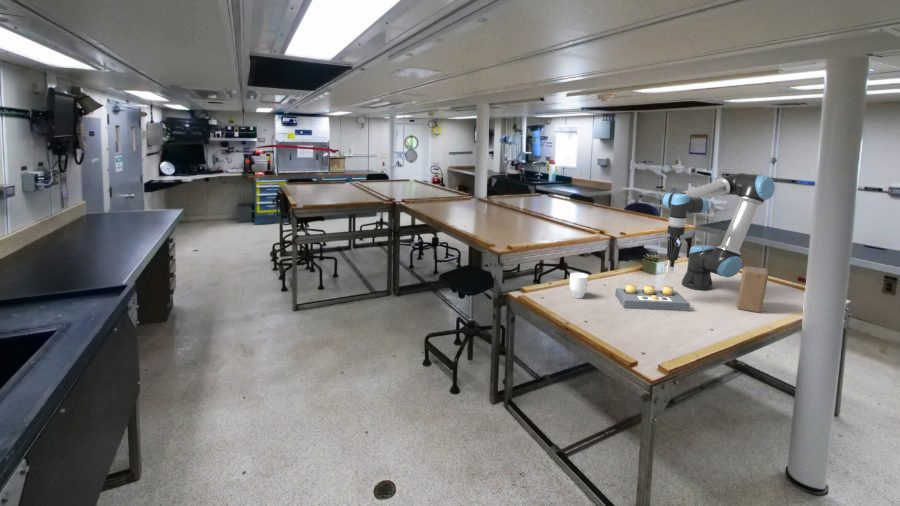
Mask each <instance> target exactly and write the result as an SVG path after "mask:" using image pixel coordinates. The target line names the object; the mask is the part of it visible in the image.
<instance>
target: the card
mask: <svg viewBox="0 0 900 506" xmlns="http://www.w3.org/2000/svg"><path fill="white" fill-rule="evenodd" d="M637 297H638V298H639V300H647V301H669V302H672V300H671V299H670V298H669V297H658V296H656V295H652V297H648V296H637Z"/></svg>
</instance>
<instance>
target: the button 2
mask: <svg viewBox="0 0 900 506" xmlns="http://www.w3.org/2000/svg"><path fill="white" fill-rule="evenodd" d="M662 290H663V291H662V295H665V296H672V295H673V291H674V287H672V286H668V285H665V286H662Z"/></svg>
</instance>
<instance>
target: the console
mask: <svg viewBox="0 0 900 506" xmlns="http://www.w3.org/2000/svg"><path fill="white" fill-rule="evenodd" d="M662 291H663V289H655V290H654V295H656V296H658V297H669V298H670V299H671V300H672V302H669V301H647V300H639V298H638V297H637V296H648V297H652V295H644V288H643V289H641V288H636V293H635V294H626V293H625V292H626V288H621V287H620V288H615V294H614V295H615V297H616V298H617V301H618V302H619V303H620V305H621V306H622V308H623V309H629V310H630V309H631V310H650V311H652V310H655V311H670V312H671V311H674V312H675V311H676V312H690V311H689V310H690V305H691V304H690V302H689V301H688V300H686V298H685V297H684V296H682V294H680V293H679V292H678V291H677V290H673V295H672V296H665V295H662Z"/></svg>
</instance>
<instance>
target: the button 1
mask: <svg viewBox="0 0 900 506" xmlns="http://www.w3.org/2000/svg"><path fill="white" fill-rule="evenodd" d="M625 289H626V292H625V293H626V294H635V293H636V289H637V286H636V285H634V284H626V285H625Z"/></svg>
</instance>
